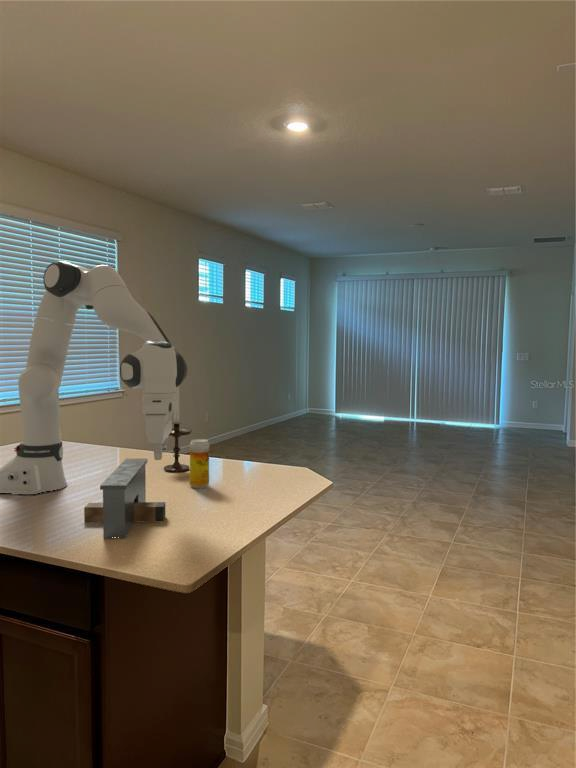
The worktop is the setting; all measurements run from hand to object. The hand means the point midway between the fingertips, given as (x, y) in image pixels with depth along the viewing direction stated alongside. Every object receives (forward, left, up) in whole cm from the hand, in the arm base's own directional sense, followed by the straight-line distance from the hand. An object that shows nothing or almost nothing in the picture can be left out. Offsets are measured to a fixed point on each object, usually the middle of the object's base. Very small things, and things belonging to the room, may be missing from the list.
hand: (160, 455), depth 144 cm
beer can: (+8, +32, -17) cm, 37 cm away
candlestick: (-2, +55, -17) cm, 57 cm away
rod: (-9, 0, -17) cm, 19 cm away
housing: (-9, 0, -17) cm, 19 cm away
